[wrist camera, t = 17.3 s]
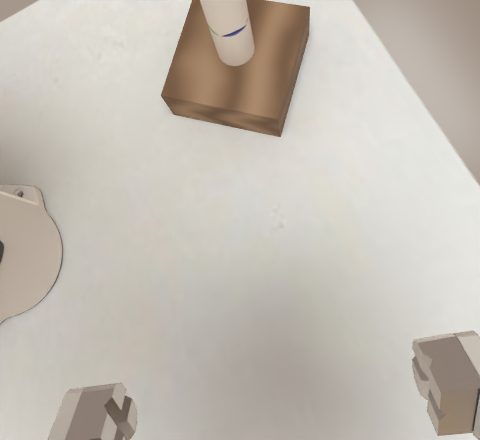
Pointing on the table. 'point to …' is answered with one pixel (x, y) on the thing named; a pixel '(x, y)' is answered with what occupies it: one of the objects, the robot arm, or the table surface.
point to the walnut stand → (239, 69)
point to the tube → (230, 29)
